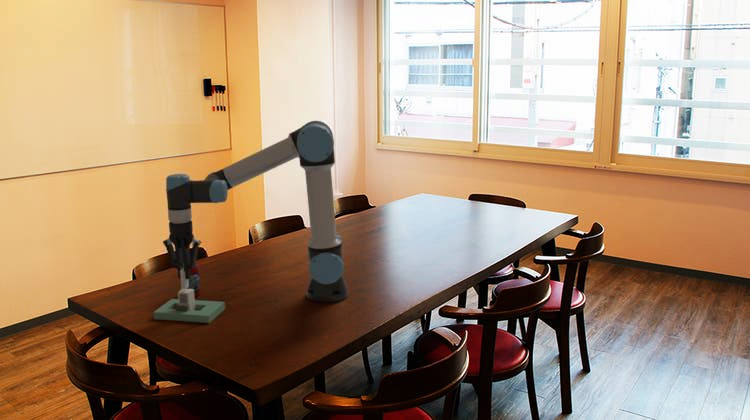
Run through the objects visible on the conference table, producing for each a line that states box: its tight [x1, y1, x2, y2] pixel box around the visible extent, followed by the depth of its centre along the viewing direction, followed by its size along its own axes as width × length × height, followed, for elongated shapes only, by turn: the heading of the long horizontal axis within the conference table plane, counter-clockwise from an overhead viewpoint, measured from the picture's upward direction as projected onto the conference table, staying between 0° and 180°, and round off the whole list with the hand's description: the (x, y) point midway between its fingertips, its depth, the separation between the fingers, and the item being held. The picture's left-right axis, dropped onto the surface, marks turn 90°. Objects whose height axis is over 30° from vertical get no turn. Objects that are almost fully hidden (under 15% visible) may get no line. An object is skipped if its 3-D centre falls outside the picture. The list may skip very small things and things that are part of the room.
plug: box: [177, 289, 196, 310], centre depth 235 cm, size 4×4×8 cm
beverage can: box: [183, 262, 202, 298], centre depth 252 cm, size 7×7×12 cm
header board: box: [153, 298, 226, 324], centre depth 235 cm, size 20×13×4 cm, turn 79°
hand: (185, 287), depth 234 cm, fingers closed
